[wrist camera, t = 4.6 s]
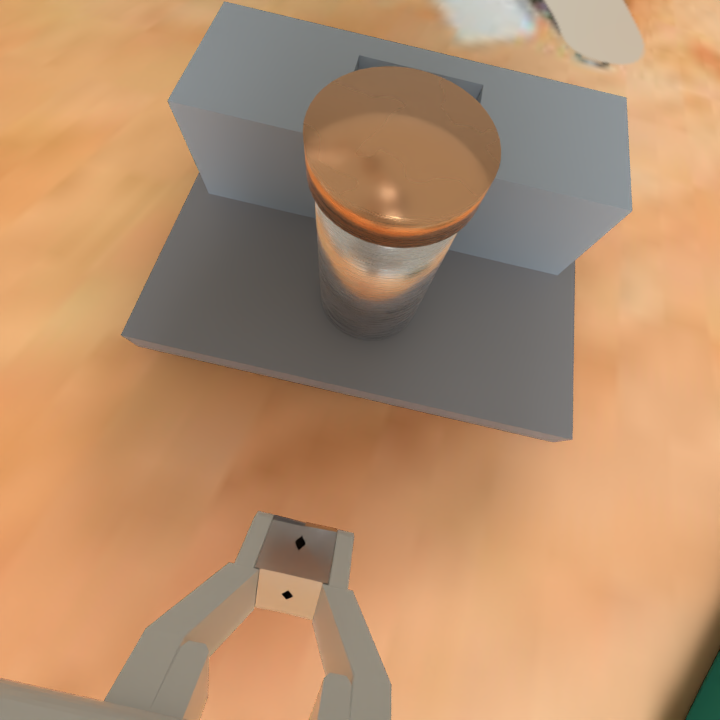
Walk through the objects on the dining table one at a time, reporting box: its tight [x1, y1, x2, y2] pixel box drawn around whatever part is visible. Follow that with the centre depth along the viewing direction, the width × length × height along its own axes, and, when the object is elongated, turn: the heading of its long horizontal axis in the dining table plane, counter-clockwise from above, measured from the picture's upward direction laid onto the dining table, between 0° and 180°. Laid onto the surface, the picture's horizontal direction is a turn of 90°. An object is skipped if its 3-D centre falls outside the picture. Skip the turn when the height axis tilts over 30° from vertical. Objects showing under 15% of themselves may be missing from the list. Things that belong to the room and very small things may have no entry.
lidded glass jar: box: [303, 66, 501, 340], centre depth 13 cm, size 5×5×9 cm
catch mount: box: [121, 2, 632, 442], centre depth 17 cm, size 22×17×6 cm
